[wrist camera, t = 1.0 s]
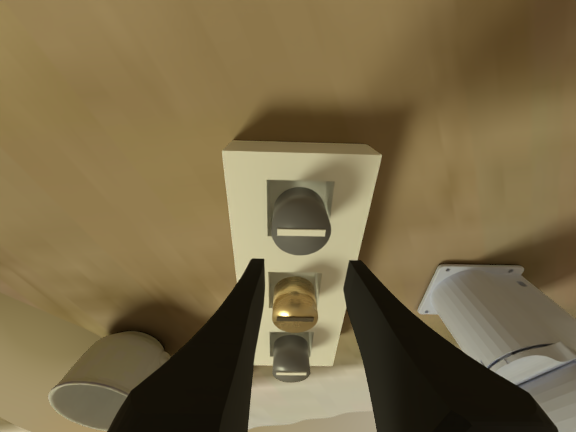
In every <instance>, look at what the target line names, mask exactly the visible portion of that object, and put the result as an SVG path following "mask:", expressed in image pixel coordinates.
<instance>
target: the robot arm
mask: <svg viewBox="0 0 576 432" xmlns="http://www.w3.org/2000/svg"><path fill="white" fill-rule="evenodd" d="M523 272H524V268H523V267H522V266H519V265H465V264H441V265H439V266H438V268H437V270H436V272H435V274H434V276H433V278H432V280H431V282H430V284H429V286H428V289H427V291H426V293H425V295H424V297H423V299H422V301H421V303H420V305H419V308H418V312H419V313H420V314H438V315H439V316H440V318H441V319H442V321H443V322H444V324H445V325H446V327H447V328H448V330H449V331H450V333H451V334H452V336H453V337H454V339H455V340H456V342H457V343H458V345H459V346H460V348H461V349H462V351H463V352H462V351H461V350H460V349H458V348H457V347H455V346H454V345H452V344H451V343H450V342H448V341H447V340H446V339H444V338H443V337H442V336H440V335H439V334H438V333H436V332H435V331H434V330H432V329H431V328H430V327H429V326H427V325H426V324H425V323H424V322H423V321H421V320H420V319H419V318H418V317H417V316H415V315H414V314H413V313H412V312H411V311H410V310H409V309H407V308H406V307H405V306H404V305H403V304H402V303H401V302H400V301H399V300H398V299H397V298H396V297H395V296H394V295H393V294H392V293H391V292H390V291H389V290H388V289H387V288H386V287H385V286H384V285H383V284H382V283H381V282H380V281H379V280H378V279H377V277H376V276H375V275H374V274H373V273H372V272H371V271H370V270H369V269H368V267H367V266H366V265H365V264H364V263H363V262H362V261H361V260H349V263H348V268H347V273H346V278H345V282H344V287H343V291H344V297H345V302H346V307H347V311H348V314H349V317H350V321H351V324H352V327H353V330H354V333H355V336H356V340H357V343H358V346H359V349H360V352H361V356H362V360H363V364H364V368H365V373H366V377H367V382H368V387H369V392H370V397H371V402H372V407H373V412H374V418H375V423H376V429H377V432H576V319H575V318H574V317H573V316H571V315H570V314H569V313H568V312H566V311H565V310H564V309H563V308H561V307H560V306H559V305H558V304H556V303H555V302H554V301H553V300H551V299H550V298H549V297H548V296H546V295H545V294H544V293H543V292H541V291H540V290H539V289H538V288H536V287H535V286H534V285H533V284H531V283H530V282H529V281H528V280H526V279H525V278H524V277H523V276H521V274H522V273H523ZM264 296H265V265H264V259H256V258H252V259H251V260H250V262H249V264H248V266H247V268H246V269H245V271H244V273H243V275H242V276H241V278H240V279H239V281H238V283H237V284H236V286H235V287H234V289H233V290H232V292H231V293H230V294H229V296H228V297H227V298H226V300H225V301H224V302H223V304H222V305H221V306H220V307H219V309H218V310H217V311H216V312H215V314H214V315H213V316H212V317H211V318H210V319H209V320H208V322H207V323H206V324H205V325H204V326H203V327H202V328H201V329H200V330H199V331H198V332H197V333H196V334H195V335H194V336H193V337H192V338H191V339H190V340H189V341H188V342H187V343H186V344H185V345H184V346H183V347H182V348H181V349H180V350H179V351H178V352H176V353H175V354H174V355H173V356H172V357H171V358H170V359H169V360H168V361H167V362H165V363H164V364H163V365H162V366H161V367H160V368H158V369H157V370H156V371H155V372H153V373H152V374H151V375H150V376H148V377H147V378H146V379H145V380H143V381H142V382H141V383H140V384H139V385H137V386H136V387H135V388H133V389H132V390H131V391H130V393H129V395H128V396H127V398H126V399H125V401H124V403H123V404H122V406H121V407H120V409H119V410H118V412H117V414H116V416H115V418H114V419H113V421H112V423H111V425H110V427H109V429H108V431H107V432H247V431H248V420H249V409H250V398H251V387H252V377H253V367H254V358H255V351H256V346H257V340H258V335H259V329H260V324H261V319H262V313H263V307H264Z"/></svg>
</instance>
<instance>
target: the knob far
mask: <svg viewBox="0 0 576 432" xmlns="http://www.w3.org/2000/svg"><path fill="white" fill-rule="evenodd" d="M309 375H310V364H309V352H308V342H307V341H306V339H304V338H303V337H301V336H298V335H285V336H282V337H279V338H278V339H277V340H276V341H275V342H274V354H273V376H274V377H275V378H276V379H278V380H280V381H283V382H299V381H302V380H305V379H306V378H308V376H309Z"/></svg>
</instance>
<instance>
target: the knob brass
mask: <svg viewBox="0 0 576 432" xmlns="http://www.w3.org/2000/svg"><path fill="white" fill-rule="evenodd" d="M272 321H273V323H274V325H275V326H276V327H277V328H279V329H280V330H282V331H285V332H290V333H299V332H304V331H307V330H309V329H311V328H312V327H314V326H315V325H316V323H317V321H318V311H317V304H316V297H315V290H314V286H313V284H312V283H311V282H310V281H309V280H307V279H305V278H302V277H296V276H293V277H287V278H284V279H282V280H280V281H279V282H278V283H277V284H276V285H275V287H274V295H273V311H272Z"/></svg>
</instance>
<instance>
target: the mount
mask: <svg viewBox="0 0 576 432" xmlns="http://www.w3.org/2000/svg"><path fill="white" fill-rule="evenodd" d="M222 157H223V166H224V174H225V183H226V192H227V200H228V209H229V218H230V226H231V235H232V244H233V252H234V261H235V270H236V278H237V283H238V281H239V279H240V278H241V276H242V275H243V273H244V271H245V269H246V268H247V266H248V264H249V262H250V260H251V259H252V258H256V259H264V265H265V296H264V307H263V313H262V319H261V324H260V329H259V335H258V340H257V346H256V351H255V358H254V365H273V354H274V342H275V341H276V340H277V339H278V338H279V337H282V336H285V335H298V336H301V337H303V338H304V339H306V341H307V342H308V352H309V364H310V366H333V362H334V358H335V353H336V349H337V345H338V341H339V336H340V332H341V328H342V324H343V319H344V315H345V311H346V302H345V297H344V291H343V287H344V282H345V278H346V273H347V268H348V263H349V260H358V256H359V251H360V247H361V243H362V239H363V234H364V230H365V226H366V222H367V217H368V213H369V209H370V205H371V200H372V196H373V192H374V188H375V183H376V179H377V175H378V171H379V166H380V162H381V158H382V155H381V154H380V153H378V152H377V151H376V150H374V149H373V148H371V147H370V146H369V145H367V144H347V143H313V142H278V141H243V140H232V141H231V142H230V143H229V144H228V145H227V146H226V147H225V148H224V149H223V150H222ZM294 187H305V188H309V189H311V190H313V191H315V192H316V193H317V194H319V196H320V197H321V198H322V200H323V202H324V205H325V208H326V212H327V215H328V218H329V221H330V224H331V235H330V238H329V240H328V242H327V243H326V245H325V246H324V247H322V248H321V249H320V250H318V251H317V252H315V253H312V254H308V255H292V254H289V253H286V252H284V251H283V250H281V249H280V248H279V247H278V246H277V245H276V244H275V242H274V241H273V238H272V234H271V228H272V219H273V209H274V204H275V201H276V200H277V198H278V197H279V196H280V194H282V193H283V192H284V191H286V190H288V189H290V188H294ZM293 276H296V277H302V278H305V279H307V280H309V281H310V282H311V283H312V284H313V286H314V290H315V297H316V304H317V311H318V321H317V323H316V325H315V326H314V327H312V328H311V329H309V330H307V331H304V332H299V333H290V332H285V331H282V330H280V329H279V328H277V327H276V326H275V325H274V323H273V321H272V311H273V295H274V287H275V285H276V284H277V283H278V282H279V281H280V280H282V279H284V278H287V277H293Z"/></svg>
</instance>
